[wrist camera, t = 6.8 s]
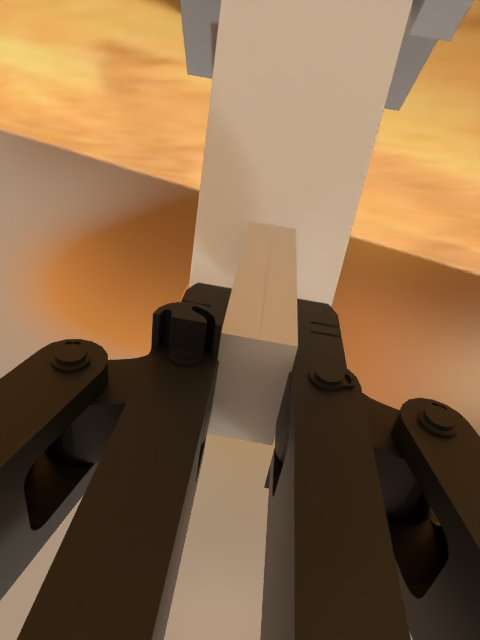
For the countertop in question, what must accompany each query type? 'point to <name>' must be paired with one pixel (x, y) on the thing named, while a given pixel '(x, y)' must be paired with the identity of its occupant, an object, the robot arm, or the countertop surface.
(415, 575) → the robot arm
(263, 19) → the handle
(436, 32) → the switch plate
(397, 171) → the countertop surface
